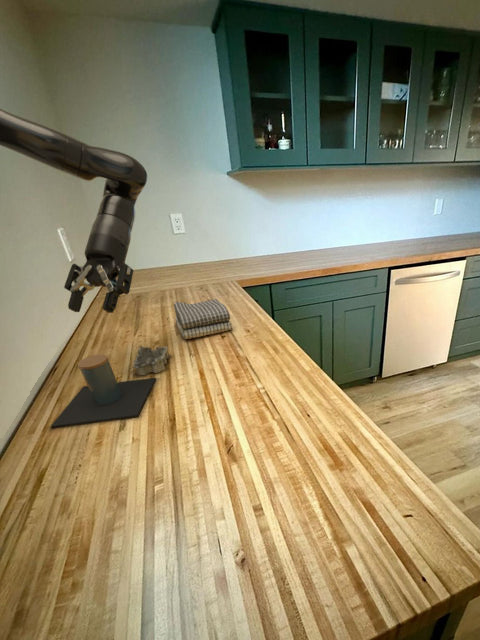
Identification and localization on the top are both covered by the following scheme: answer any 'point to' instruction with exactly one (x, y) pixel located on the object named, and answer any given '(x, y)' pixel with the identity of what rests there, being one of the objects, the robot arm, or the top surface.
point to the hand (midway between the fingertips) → (90, 311)
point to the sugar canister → (100, 379)
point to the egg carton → (150, 360)
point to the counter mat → (90, 412)
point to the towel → (201, 318)
